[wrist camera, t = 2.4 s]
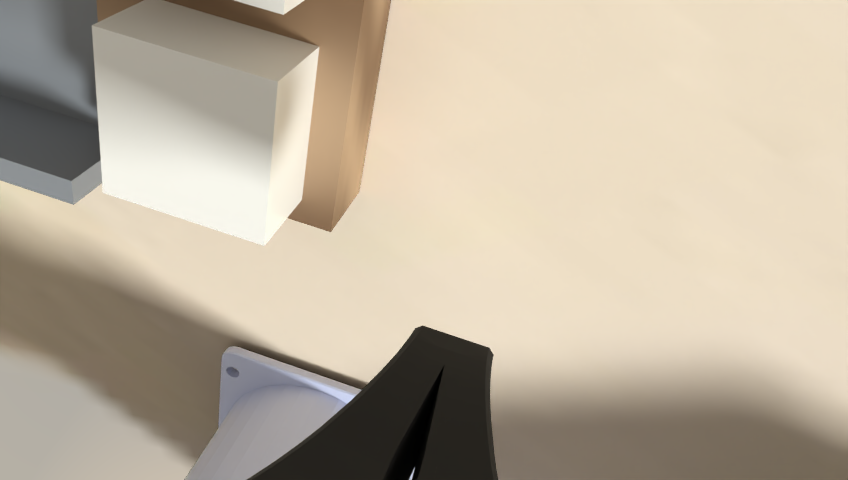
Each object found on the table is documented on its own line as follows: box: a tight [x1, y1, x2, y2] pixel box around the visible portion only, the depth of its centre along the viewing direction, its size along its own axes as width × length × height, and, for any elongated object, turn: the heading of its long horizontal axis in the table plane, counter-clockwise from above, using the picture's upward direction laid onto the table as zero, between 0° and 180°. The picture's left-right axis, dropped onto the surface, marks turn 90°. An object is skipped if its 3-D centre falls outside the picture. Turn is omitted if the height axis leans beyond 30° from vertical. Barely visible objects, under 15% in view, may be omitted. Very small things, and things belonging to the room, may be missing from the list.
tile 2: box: [92, 0, 319, 246], centre depth 19 cm, size 4×4×2 cm
